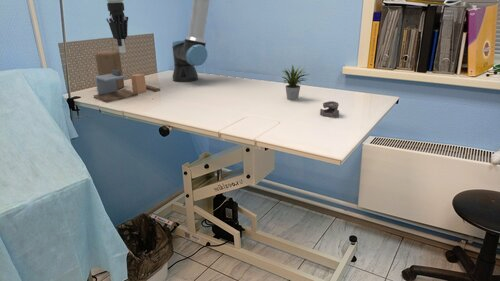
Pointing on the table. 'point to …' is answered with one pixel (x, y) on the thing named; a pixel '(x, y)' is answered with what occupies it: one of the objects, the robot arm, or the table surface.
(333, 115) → the dental mold
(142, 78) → the terracotta block
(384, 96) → the table surface
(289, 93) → the house plant
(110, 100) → the puzzle board
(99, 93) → the sliding cover
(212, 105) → the table surface
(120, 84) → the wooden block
